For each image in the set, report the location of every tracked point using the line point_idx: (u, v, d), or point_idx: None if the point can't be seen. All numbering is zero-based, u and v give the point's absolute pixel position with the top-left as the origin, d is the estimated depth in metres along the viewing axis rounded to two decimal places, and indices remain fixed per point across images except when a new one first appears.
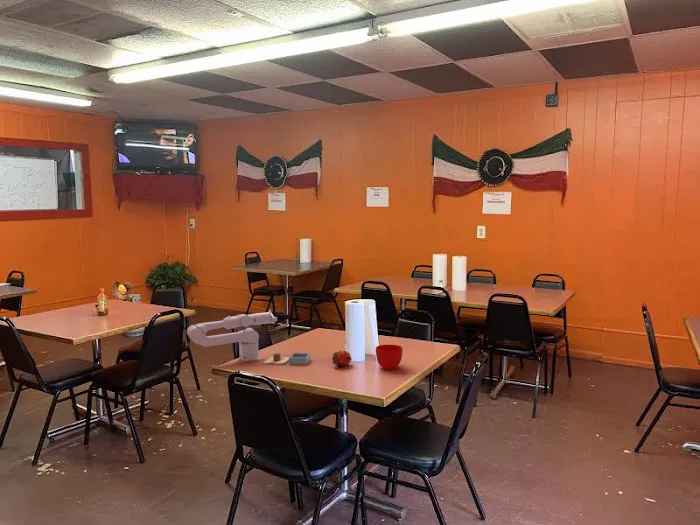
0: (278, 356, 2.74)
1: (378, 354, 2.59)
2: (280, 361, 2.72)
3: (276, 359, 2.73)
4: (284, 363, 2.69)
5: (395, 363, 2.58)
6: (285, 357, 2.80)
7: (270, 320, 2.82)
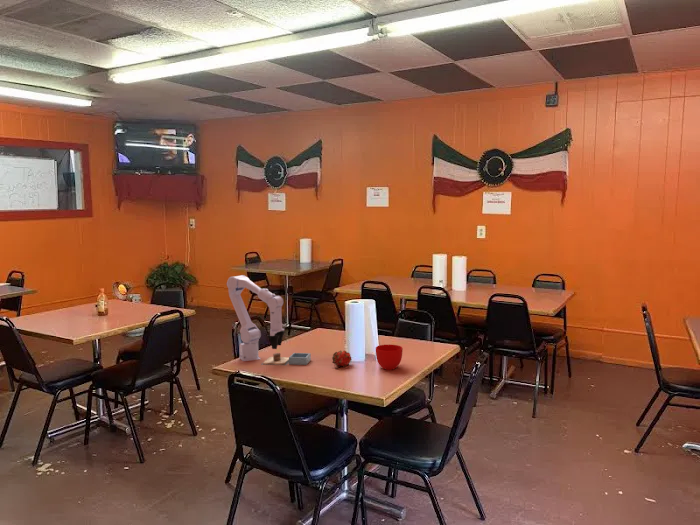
0: (278, 356, 2.74)
1: (378, 354, 2.59)
2: (280, 361, 2.72)
3: (276, 359, 2.73)
4: (284, 363, 2.69)
5: (395, 363, 2.58)
6: (285, 357, 2.80)
7: (272, 329, 2.71)
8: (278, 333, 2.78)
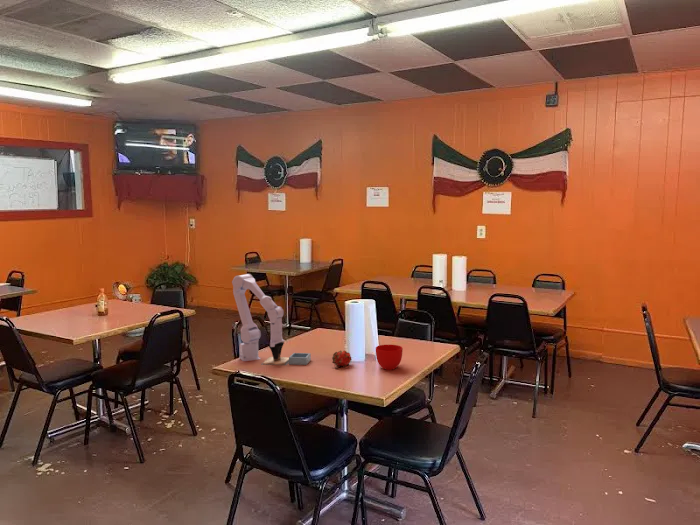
0: (278, 356, 2.74)
1: (378, 354, 2.59)
2: (280, 361, 2.72)
3: (276, 359, 2.73)
4: (284, 363, 2.69)
5: (395, 363, 2.58)
6: (285, 357, 2.80)
7: (272, 340, 2.72)
8: (277, 344, 2.77)
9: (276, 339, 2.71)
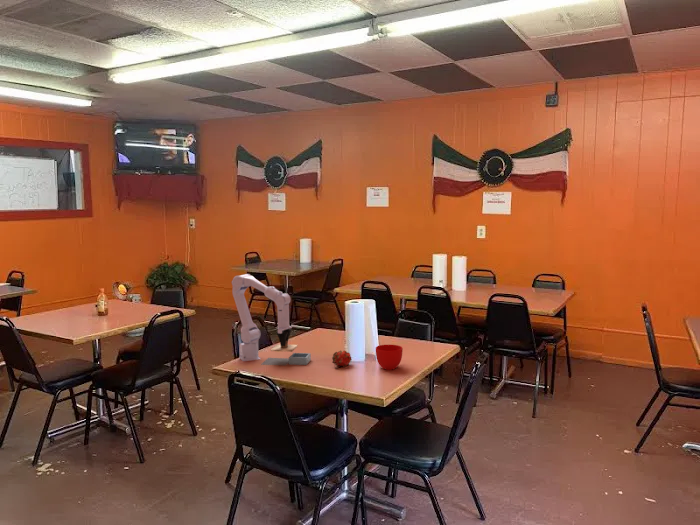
0: None
1: (378, 354, 2.59)
2: (287, 348, 2.71)
3: (283, 346, 2.72)
4: (291, 350, 2.68)
5: (395, 363, 2.58)
6: None
7: (280, 327, 2.71)
8: (284, 331, 2.75)
9: (283, 326, 2.70)
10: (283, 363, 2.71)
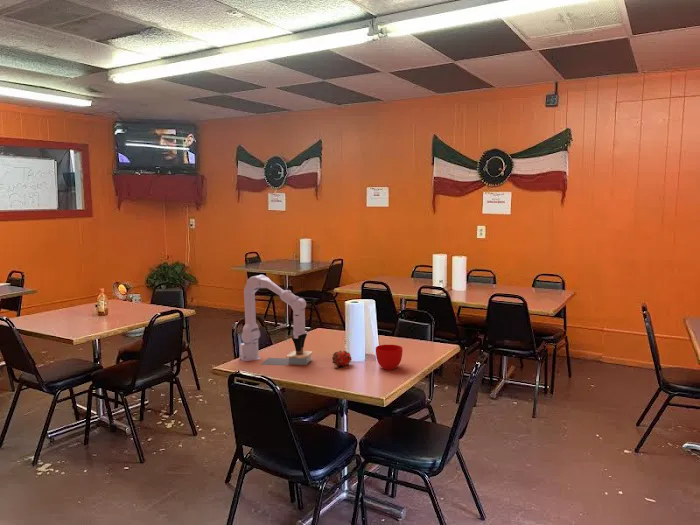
0: (301, 350, 2.72)
1: (378, 354, 2.59)
2: (303, 355, 2.70)
3: (299, 353, 2.71)
4: (307, 357, 2.67)
5: (395, 363, 2.58)
6: (307, 351, 2.78)
7: (295, 331, 2.70)
8: (300, 336, 2.75)
9: (299, 331, 2.69)
10: (283, 363, 2.71)
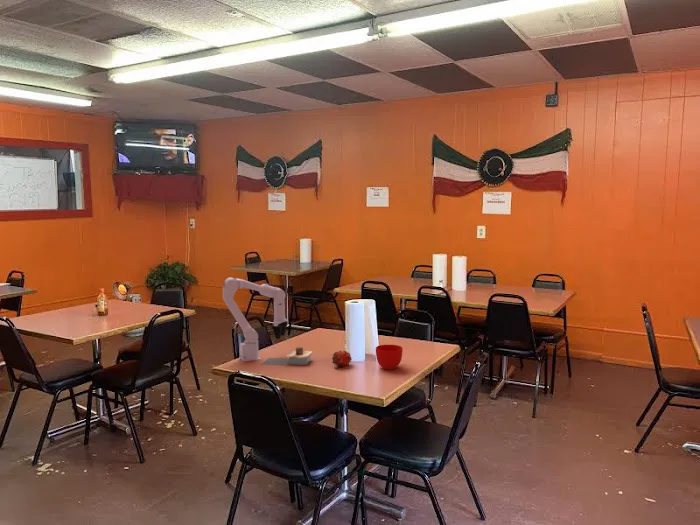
0: (301, 350, 2.72)
1: (378, 354, 2.59)
2: (303, 355, 2.70)
3: (299, 353, 2.71)
4: (307, 357, 2.67)
5: (395, 363, 2.58)
6: (307, 351, 2.78)
7: (276, 320, 2.83)
8: (281, 324, 2.90)
9: (279, 319, 2.83)
10: (283, 363, 2.71)
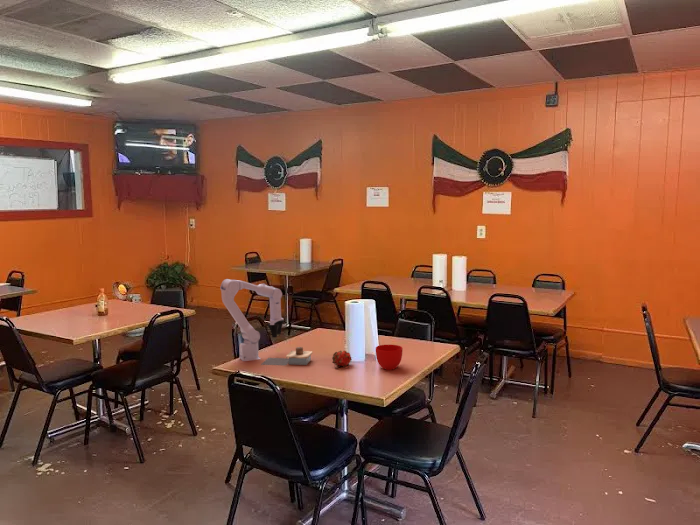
0: (301, 350, 2.72)
1: (378, 354, 2.59)
2: (303, 355, 2.70)
3: (299, 353, 2.71)
4: (307, 357, 2.67)
5: (395, 363, 2.58)
6: (307, 351, 2.78)
7: (272, 318, 2.86)
8: (278, 322, 2.93)
9: (275, 318, 2.86)
10: (283, 363, 2.71)
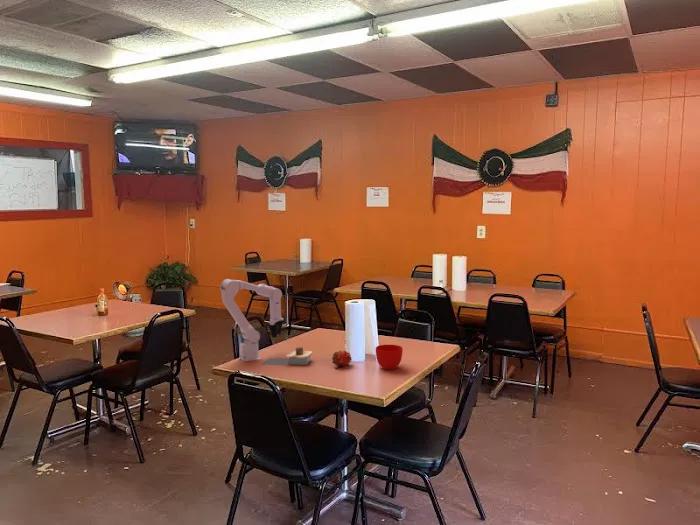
0: (301, 350, 2.72)
1: (378, 354, 2.59)
2: (303, 355, 2.70)
3: (299, 353, 2.71)
4: (307, 357, 2.67)
5: (395, 363, 2.58)
6: (307, 351, 2.78)
7: (272, 318, 2.86)
8: (278, 322, 2.93)
9: (275, 318, 2.86)
10: (283, 363, 2.71)
